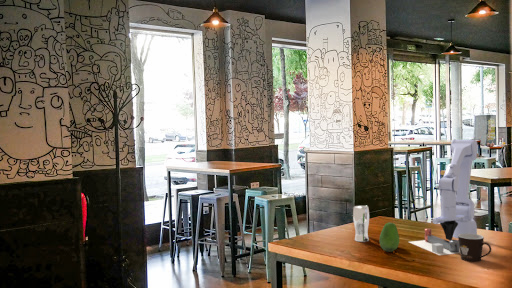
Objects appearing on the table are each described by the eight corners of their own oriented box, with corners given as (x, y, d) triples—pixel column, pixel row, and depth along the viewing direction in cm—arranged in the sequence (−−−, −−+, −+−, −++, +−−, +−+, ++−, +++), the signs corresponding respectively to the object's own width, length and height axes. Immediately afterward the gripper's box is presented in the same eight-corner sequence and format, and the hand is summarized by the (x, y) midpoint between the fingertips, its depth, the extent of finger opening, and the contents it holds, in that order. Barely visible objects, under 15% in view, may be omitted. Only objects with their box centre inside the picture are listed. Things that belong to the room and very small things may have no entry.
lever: (461, 251, 187) (461, 238, 187) (453, 252, 187) (453, 239, 186) (430, 239, 207) (429, 228, 207) (422, 240, 206) (422, 228, 206)
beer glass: (369, 242, 213) (369, 208, 213) (353, 242, 215) (352, 208, 214) (369, 238, 220) (368, 205, 220) (353, 238, 222) (353, 205, 221)
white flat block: (441, 241, 210) (441, 231, 210) (475, 255, 189) (475, 243, 189) (408, 245, 206) (407, 234, 206) (439, 259, 185) (439, 247, 185)
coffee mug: (453, 260, 182) (453, 234, 182) (476, 259, 183) (475, 233, 183) (470, 269, 171) (469, 241, 170) (493, 268, 171) (493, 240, 171)
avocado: (400, 254, 193) (400, 224, 192) (380, 254, 194) (379, 224, 194) (398, 249, 201) (397, 220, 200) (378, 248, 202) (378, 220, 202)
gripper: (455, 203, 206) (456, 235, 207) (427, 206, 201) (428, 239, 202) (468, 206, 200) (468, 239, 200) (439, 209, 195) (439, 242, 195)
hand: (449, 239), depth 201 cm, fingers closed
